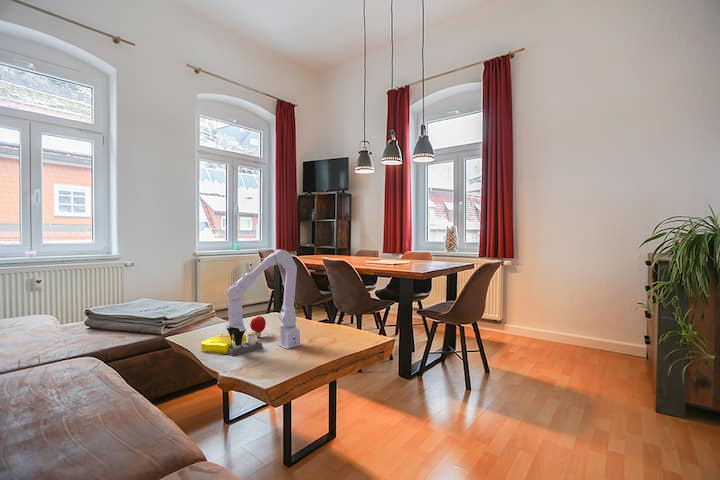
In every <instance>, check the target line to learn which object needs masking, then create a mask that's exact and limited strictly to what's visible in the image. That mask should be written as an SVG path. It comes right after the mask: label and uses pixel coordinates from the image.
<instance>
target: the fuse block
mask: <svg viewBox="0 0 720 480" xmlns="http://www.w3.org/2000/svg"><path fill="white" fill-rule="evenodd" d="M260 349H263V342H260V341H259V340H257V339H256V345H251V346H248V342H246V343H243V344H241V348H239V349H235V350H233V349H231V348H227V351H228V355H229V356H231V357H233V356H236V355H241V354H245V353H249V352H253V351H257V350H260Z"/></svg>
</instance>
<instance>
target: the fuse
mask: <svg viewBox="0 0 720 480" xmlns="http://www.w3.org/2000/svg"><path fill="white" fill-rule="evenodd" d="M246 338H247V343H248V346H251V345H256V340H257V337H256V332H255V331H249V332H247V335H246Z"/></svg>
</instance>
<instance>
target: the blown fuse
mask: <svg viewBox="0 0 720 480" xmlns="http://www.w3.org/2000/svg"><path fill="white" fill-rule="evenodd" d="M239 348H241V345H239V346H236V344H235V339H234V335H233V334H232V349H233V350H235V349H239Z"/></svg>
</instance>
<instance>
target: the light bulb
mask: <svg viewBox="0 0 720 480" xmlns="http://www.w3.org/2000/svg"><path fill="white" fill-rule="evenodd" d="M266 325H267V322H266V318H265V317H264V316H262V315H261V316H260V315H258V316H256V317H254V318H252V319H251V320H250V324H249V326H250V330H252V332H256V338H260V337H261V336H262V332H263V331H264V330H265V328H266Z"/></svg>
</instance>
